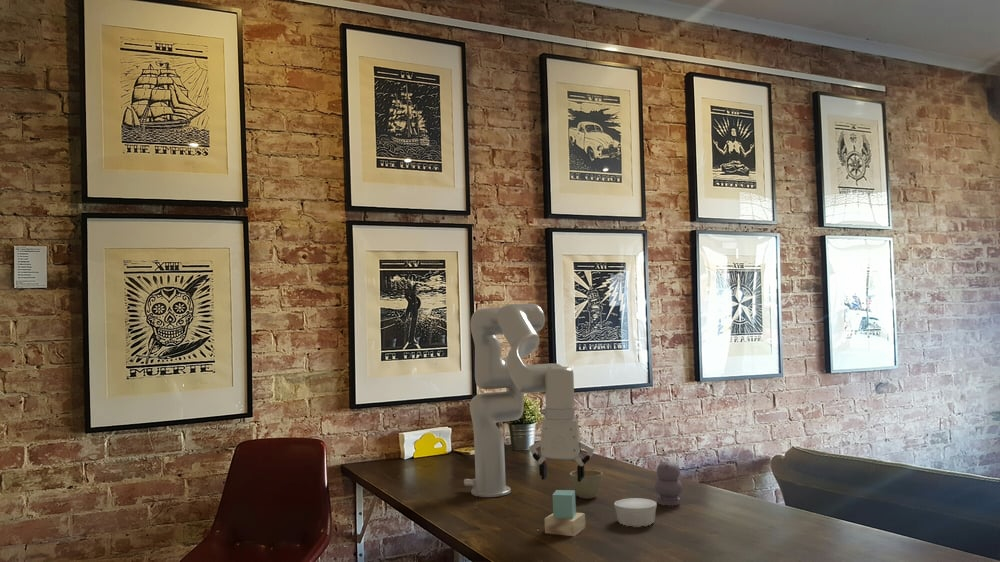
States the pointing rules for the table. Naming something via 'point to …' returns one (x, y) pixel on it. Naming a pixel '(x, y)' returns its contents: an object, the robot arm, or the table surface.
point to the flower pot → (587, 483)
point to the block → (564, 504)
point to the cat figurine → (668, 483)
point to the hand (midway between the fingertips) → (562, 479)
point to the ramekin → (635, 511)
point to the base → (565, 525)
